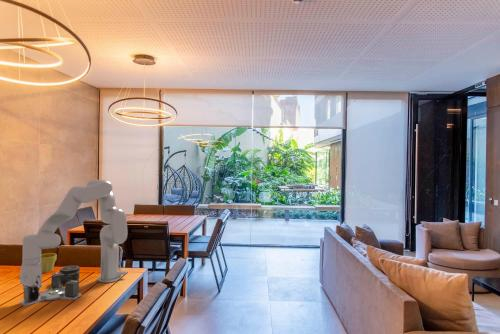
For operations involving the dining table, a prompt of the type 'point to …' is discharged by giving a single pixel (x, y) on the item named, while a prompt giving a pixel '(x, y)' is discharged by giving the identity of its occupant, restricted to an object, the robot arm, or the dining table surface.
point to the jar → (70, 273)
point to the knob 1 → (28, 293)
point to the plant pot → (48, 262)
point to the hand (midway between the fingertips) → (31, 297)
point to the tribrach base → (51, 296)
